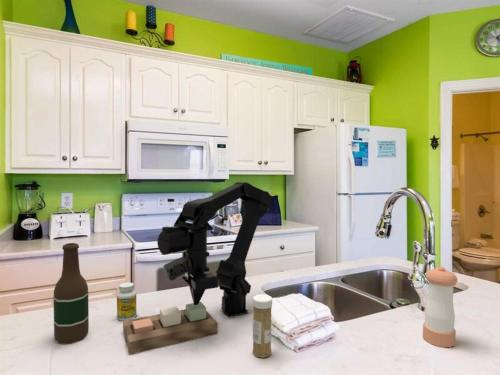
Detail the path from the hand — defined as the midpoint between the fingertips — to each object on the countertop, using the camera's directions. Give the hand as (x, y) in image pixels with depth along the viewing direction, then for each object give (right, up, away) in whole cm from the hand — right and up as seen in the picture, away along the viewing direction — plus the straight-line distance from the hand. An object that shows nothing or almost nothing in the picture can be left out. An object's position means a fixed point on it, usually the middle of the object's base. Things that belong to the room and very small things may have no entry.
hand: (195, 304), depth 89 cm
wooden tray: (-6, -7, -3) cm, 9 cm away
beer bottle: (-31, -7, -6) cm, 32 cm away
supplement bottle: (-21, -6, +6) cm, 23 cm away
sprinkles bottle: (+18, -7, -12) cm, 22 cm away
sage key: (0, -3, 0) cm, 3 cm away
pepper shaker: (+64, -8, -5) cm, 64 cm away
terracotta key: (-13, -5, -6) cm, 15 cm away
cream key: (-6, -4, -3) cm, 8 cm away
